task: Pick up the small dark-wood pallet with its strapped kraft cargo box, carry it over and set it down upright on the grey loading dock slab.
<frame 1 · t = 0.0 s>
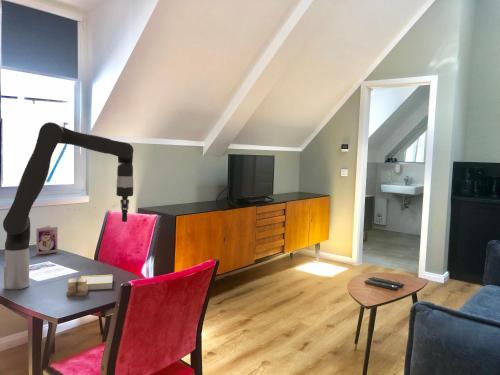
hand: (124, 220, 192), 29 cm above the table, fingers open, 8 cm apart
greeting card: (45, 252, 241), on the table
dock: (96, 285, 187), on the table
loaded pallet: (77, 293, 176), on the table
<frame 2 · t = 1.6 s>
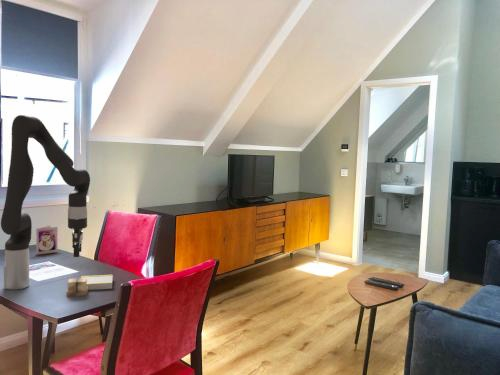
hand: (77, 254, 174), 17 cm above the table, fingers open, 8 cm apart
nothing on the table moved.
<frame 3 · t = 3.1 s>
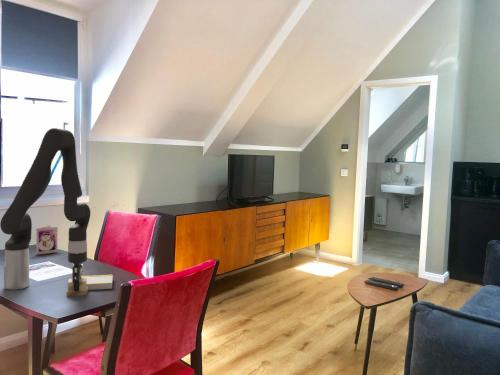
hand: (77, 287, 175), 3 cm above the table, fingers open, 8 cm apart
nothing on the table moved.
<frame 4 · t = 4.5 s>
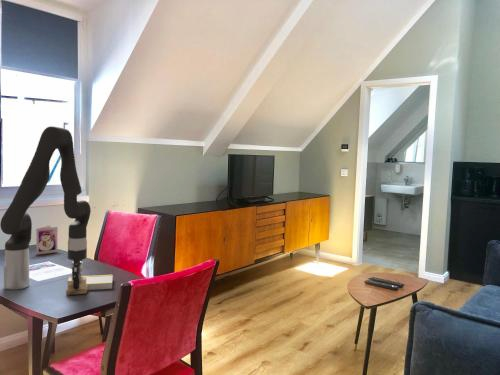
hand: (76, 286, 175), 3 cm above the table, fingers closed on loaded pallet, 5 cm apart
loaded pallet: (77, 292, 176), on the table, touching gripper
everything else where it was.
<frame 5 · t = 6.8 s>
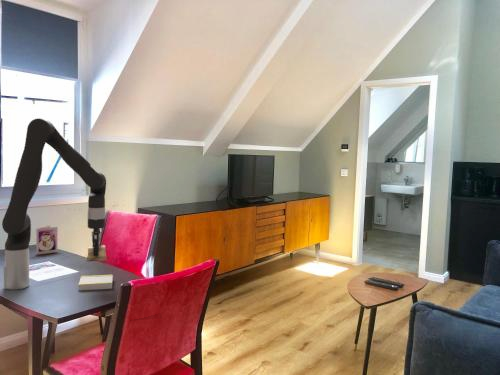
hand: (96, 253, 186), 15 cm above the table, fingers closed on loaded pallet, 5 cm apart
loaded pallet: (96, 259, 186), point 12 cm above the table, touching gripper
everything else where it was.
when the fingers open (6 cm above the table, at t = 9.1 s): loaded pallet stays where it is, resting on dock.
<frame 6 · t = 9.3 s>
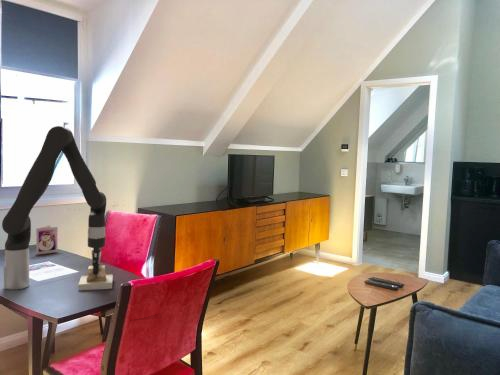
hand: (96, 271, 187), 6 cm above the table, fingers open, 6 cm apart
loaded pallet: (96, 279, 187), point 2 cm above the table, touching dock
everything else where it was.
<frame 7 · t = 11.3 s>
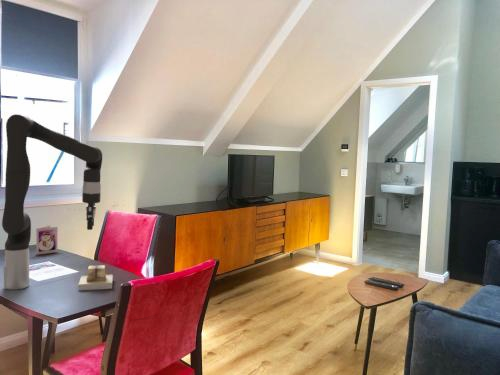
hand: (90, 227, 183), 27 cm above the table, fingers open, 8 cm apart
nothing on the table moved.
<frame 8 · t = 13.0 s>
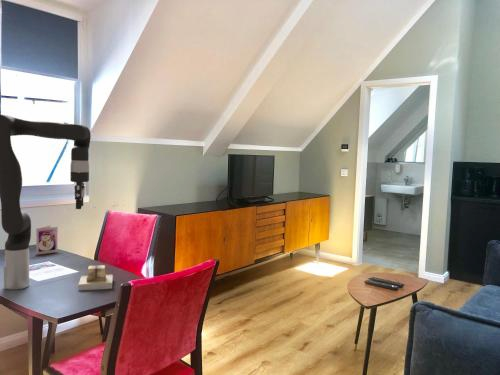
hand: (79, 207, 180), 36 cm above the table, fingers open, 8 cm apart
nothing on the table moved.
at the end: loaded pallet inside the target area on the dock (0.1 cm from its centre), point 2.5 cm above the dock's base; loaded pallet tilted 0°; the gripper is holding nothing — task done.
